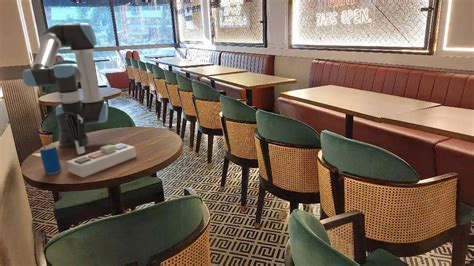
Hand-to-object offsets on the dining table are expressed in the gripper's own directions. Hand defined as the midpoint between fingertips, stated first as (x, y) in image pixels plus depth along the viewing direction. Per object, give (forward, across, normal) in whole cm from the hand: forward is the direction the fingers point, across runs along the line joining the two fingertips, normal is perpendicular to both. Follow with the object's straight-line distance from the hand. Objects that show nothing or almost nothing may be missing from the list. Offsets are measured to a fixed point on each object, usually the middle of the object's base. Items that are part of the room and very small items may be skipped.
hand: (81, 152), depth 147 cm
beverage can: (+9, -12, -9) cm, 17 cm away
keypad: (+9, 0, +9) cm, 13 cm away
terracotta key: (+6, 0, +6) cm, 9 cm away
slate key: (+6, 0, +19) cm, 20 cm away
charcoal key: (+6, 0, 0) cm, 6 cm away
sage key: (+4, 0, +13) cm, 13 cm away
